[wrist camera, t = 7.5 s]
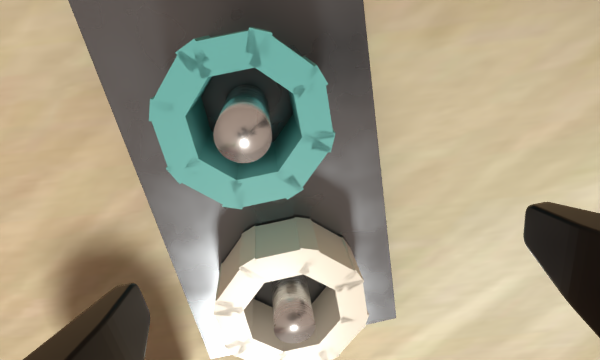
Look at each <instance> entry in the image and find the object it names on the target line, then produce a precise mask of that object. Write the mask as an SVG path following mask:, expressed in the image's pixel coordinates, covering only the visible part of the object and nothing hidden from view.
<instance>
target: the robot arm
mask: <svg viewBox="0 0 600 360" xmlns="http://www.w3.org/2000/svg"><path fill="white" fill-rule="evenodd" d="M524 241H525V244H526V246H527V247H528V249H529V250H530V252H531V253H532V254H533V256H534V257H535V258H536V260H537V261H538V263H539V264H540V265H541V267H542V268H543V269H544V271H545V272H546V273H547V275H548V276H549V278H550V279H551V280H552V282H553V283H554V284H555V286H556V287H557V288H558V290H559V291H560V293H561V294H562V295H563V296H564V298H565V299H566V300H567V301H568V303H569V304H570V305H571V306H572V307H573V309H574V310H575V311H576V312H577V313H578V314H579V315H580V316H581V318H582V319H583V320H584V321H585V322H586V323H587V324H588V325H589V327H590V328H591V329H592V330H593V331H594V332H595V333H596V334H597V336H598V337H599V338H600V213H596V212H591V211H587V210H582V209H578V208H573V207H569V206H564V205H560V204H555V203H551V202H542V203H538V204H533V205H530V206H528V207H527V209H526V214H525V224H524ZM149 325H150V313H149V309H148V307H147V305H146V302H145V300H144V298H143V295H142V293H141V291H140V289H139V287H138V286H137V284H134V283H130V284H125V285H120V286H117V287H115V288H113V289H112V290H111V291H110V292H108V293H107V294H106V295H104V296H103V297H102V298H101V299H99V300H98V301H97V302H96V303H94V304H93V305H92V306H90V307H89V308H88V309H87V310H85V311H84V312H83V313H82V314H80V315H79V316H78V317H76V318H75V319H74V320H73V321H71V322H70V323H69V324H68V325H66V326H65V327H64V328H63V329H61V330H60V331H59V332H57V333H56V334H55V335H54V336H52V337H51V338H50V339H49V340H47V341H46V342H45V343H43V344H42V345H41V346H40V347H38V348H37V349H36V350H35V351H33V352H32V353H31V354H29V355H28V356H27V357H26V358H24V359H23V360H144V357H145V351H146V344H147V338H148V331H149Z"/></svg>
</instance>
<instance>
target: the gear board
mask: <svg viewBox="0 0 600 360" xmlns="http://www.w3.org/2000/svg"><path fill="white" fill-rule="evenodd" d="M68 1H69V3H70V6H71V8H72V11H73V13H74V16H75V18H76V21H77V23H78V26H79V28H80V31H81V33H82V36H83V38H84V41H85V43H86V46H87V49H88V51H89V54H90V56H91V59H92V61H93V64H94V66H95V69H96V71H97V74H98V76H99V79H100V81H101V84H102V86H103V89H104V91H105V94H106V96H107V99H108V102H109V104H110V107H111V109H112V112H113V114H114V117H115V119H116V122H117V124H118V127H119V129H120V132H121V134H122V137H123V139H124V142H125V144H126V147H127V150H128V152H129V155H130V157H131V160H132V162H133V165H134V167H135V170H136V172H137V175H138V177H139V180H140V182H141V185H142V187H143V190H144V192H145V195H146V197H147V200H148V203H149V205H150V208H151V210H152V213H153V215H154V218H155V220H156V223H157V225H158V228H159V230H160V233H161V235H162V238H163V240H164V243H165V245H166V248H167V250H168V253H169V256H170V258H171V261H172V263H173V266H174V268H175V271H176V273H177V276H178V278H179V281H180V283H181V286H182V288H183V291H184V293H185V296H186V298H187V301H188V304H189V306H190V309H191V311H192V314H193V316H194V319H195V321H196V324H197V326H198V329H199V331H200V334H201V336H202V339H203V341H204V344H205V346H206V349H207V351H208V354H209V357H210V359H214V358H218V357H223V356H227V355H232V353H231V352H230V351H229V350H227V349H226V348H225V342H224V339H223V337H222V334H221V331H220V328H219V326H218V323H217V320H216V317H215V315H213V311H214V305H215V299H216V292H217V286H218V279H219V273H220V267H221V263H223V262H224V261H225V259H226V258H227V256H228V255H229V253H230V252H231V251H232V249H233V248H234V246H235V245H236V244H237V242H238V241H239V239H240V238H241V234H242V233H244V232H245V231H247V230H249V229H250V228H252V227H253V226H260V225H265V224H270V223H274V222H279V221H284V220H288V219H293V218H295V217H299V218H307V219H311V221H312V222H314V223H316V224H318V225H320V226H321V227H323V228H325V229H327V230H329V231H330V232H332V233H334V234H336V235H337V236H339V237H343V238H344V240H345V241H346V242H347V244H348V245H349V247H350V248H351V250H352V253H353V255H354V258H355V260H356V263H357V265H358V268H359V270H360V272H361V275H362V277H363V280H364V282H363V287H364V294H365V301H366V308H367V311H368V313H369V316H368V319H367V322H366V325H367V324H371V323H376V322H380V321H385V320H389V319H394V318H396V311H395V302H394V292H393V283H392V273H391V263H390V254H389V244H388V235H387V225H386V216H385V206H384V196H383V187H382V177H381V168H380V158H379V148H378V139H377V129H376V120H375V110H374V100H373V91H372V81H371V72H370V62H369V52H368V43H367V33H366V24H365V14H364V4H363V0H68ZM249 27H255V28H259V29H264V30H268V31H270V32H272V36H274V37H275V38H276V39H278V40H279V41H280V42H282V43H283V44H285V45H286V46H287V47H289V48H290V49H292V50H293V51H294V52H296V53H297V54H299V55H300V56H301V57H303V56H305V57H306V58H308V59H309V60H311V61H312V62H313V63H315V64H316V65H317V66H318V68H319V69H320V71H321V73H322V74H323V76H324V78H325V79H326V81H327V83H328V85H326V89H327V96H328V102H329V109H330V115H331V122H332V128H333V130H334V131H335V137H334V141H333V145H332V149H331V152H328V153H327V154H326V156H325V157H324V159H323V160H322V161H321V163H320V164H319V165H318V167H317V168H316V170H315V171H314V172H313V174H312V175H311V176H310V178H309V179H308V181H307V182H306V183H305V185H304V186H303V189H304V190H302V191H300V192H299V193H297V194H296V195H294V196H293V197H291V198H289V199H288V200H287V199H286V198H284V199H279V200H275V201H270V202H265V203H260V204H256V205H251V206H246V207H242V209H235V208H228V207H222V205H223V204H221V203H219V202H217V201H215V200H213V199H211V198H209V197H207V196H206V195H204V194H202V193H200V192H198V191H196V190H194V189H192V188H191V187H189V186H187V185H185V184H183V183H181V184H179V183H178V182H177V181H176V179H175V178H174V177H173V176H172V175H171V174H170V173H169V172H168V170H167V169H166V167H167V163H166V160H165V158H164V155H163V152H162V149H161V146H160V144H159V141H158V138H157V135H156V132H155V129H154V127H153V124H152V121H149V108H150V99H151V98H152V97H154V96H155V95H156V93H157V91H158V89H159V88H160V86H161V84H162V82H163V80H164V78H165V77H166V75H167V73H168V71H169V69H170V67H171V66H172V64H173V62H174V60H175V58H176V56H177V54H176V53H175V52H177V51H178V50H179V49H181V48H182V47H183V46H185V45H186V44H188V43H189V42H190V41H192V40H193V39H195V38H199V37H203V36H208V35H209V36H210V37H214V36H219V35H224V34H229V33H234V32H239V31H244V30H249ZM201 98H202V102H203V105H204V108H205V112H206V115H207V119H208V122H209V126H210V129H211V131H212V132H214V134H213V135H214V142H215V145H216V147H217V149H218V150H219V152H220V153H221V154H222V155H223V156H224V157H226V158H227V159H229V160H231V161H233V162H237V163H250V162H254V161H256V160H258V159H260V158H261V157H262V156H263V155H264V154H265V153H266V152H267V151H268V149H269V147H270V145H271V142H274V141H275V140H276V138H277V137H278V135H279V134H280V133H281V131H282V130H283V128H284V127H285V125H286V124H287V122H288V121H289V119H290V118H291V116H292V115H293V111H292V106H291V101H290V95H289V90H287V89H286V88H284V87H283V86H281V85H280V84H278V83H277V82H275V81H274V80H273V79H271V78H270V77H268V76H267V75H265V74H264V73H262V72H261V71H259V70H258V69H256V68H250V69H245V70H240V71H235V72H231V73H226V74H221V75H216V76H213V77H212V78H211V80H210V82H209V84H208V85H207V87H206V89H205V90H204V92H203V94H202V96H201ZM325 287H326V285H324V284H322V283H320V282H318V281H316V280H314V279H312V278H310V277H308V276H306V275H304V274H303V275H298V276H293V277H289V278H284V279H280V280H275V281H270V282H266V283H264V284H263V285H262V287H261V288H260V289H259V291H258V292H257V293H256V295H255V296H254V297H253V299H255V300H257V301H260V302H262V303H264V304H266V305H268V306H271V307H273V323H274V333H275V335H276V337H277V338H278V339H279V340H281V341H283V342H286V343H300V342H303V341H305V340H307V339H308V338H309V337H311V335H312V334H313V333H314V330H315V320H314V315H313V309H312V303H313V302H314V301H315V300H316V298H317V297H318V296H319V295H320V294H321V292H322V291H323V290H324V289H325Z"/></svg>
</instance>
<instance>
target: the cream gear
mask: <svg viewBox="0 0 600 360" xmlns="http://www.w3.org/2000/svg"><path fill="white" fill-rule="evenodd" d="M303 274H304V275H306V276H308V277H310V278H312V279H314V280H316V281H318V282H320V283H322V284H324V285H326V287H325V289H324V290H323V291H322V292H321V294H320V295H319V296H318V297H317V298H316V300H315V301H314V302H313V303H312V309H313V315H314V320H315V330H314V333H313V334H312V335H311V337H309V338H308V339H307V340H305V341H303V342H300V343H286V342H283V341H281V340H279V339H278V338H277V337H276V335H275V333H274V323H273V307H271V306H268V305H266V304H264V303H262V302H260V301H257V300H255V299H253V297H254V296H255V295H256V293H257V292H258V291H259V289H260V288H261V287H262V285H263V284H264V283H266V282H270V281H275V280H280V279H284V278H289V277H293V276H298V275H303ZM363 282H364V280H363V277H362V275H361V272H360V270H359V268H358V265H357V263H356V260H355V258H354V255H353V253H352V250H351V248H350V247H349V245H348V244H347V242H346V241H345V240H344V238H343V237H339V236H337V235H336V234H334V233H332V232H330V231H329V230H327V229H325V228H323V227H321V226H320V225H318V224H316V223H314V222H312V221H311V219H307V218H299V217H295V218H293V219H288V220H284V221H279V222H274V223H270V224H265V225H260V226H253V227H252V228H250V229H249V230H247V231H245V232H244V233H242V234H241V238H240V239H239V241H238V242H237V244H236V245H235V246H234V248H233V249H232V251H231V252H230V253H229V255H228V256H227V258H226V259H225V261H224V262H223V263H221V267H220V273H219V279H218V286H217V292H216V299H215V305H214V311H213V315H215V317H216V320H217V323H218V326H219V328H220V331H221V334H222V337H223V339H224V342H225V348H226V349H227V350H229V351H230V352H231V353H232V354H233V355H234V356H235V357H236V356H238V357H240V358H243V359H245V360H332V359H334V358H336V357H338V356H340V353H341V352H342V351H343V350H344V348H345V347H346V346H347V345H348V344H349V343H350V342H351V341H352V340H353V338H354V337H355V336H356V335H357V334H358V333H359V332H360V331H361V330H362V328H365V325H366V322H367V319H368V316H369V313H368V311H367V308H366V301H365V294H364V287H363Z"/></svg>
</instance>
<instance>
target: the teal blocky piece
mask: <svg viewBox="0 0 600 360" xmlns="http://www.w3.org/2000/svg"><path fill="white" fill-rule="evenodd" d="M175 53H176V54H177V56H176V58H175V60H174V62H173V64H172V66H171V67H170V69H169V71H168V73H167V75H166V77H165V78H164V80H163V82H162V84H161V86H160V88H159V89H158V91H157V93H156V95H155V96H154V97H152V98H151V99H150V108H149V121H152V124H153V127H154V129H155V132H156V135H157V138H158V141H159V144H160V146H161V149H162V152H163V155H164V158H165V160H166V163H167V167H166V169H167V170H168V172H169V173H170V174H171V175H172V176H173V177H174V178H175V179H176V181H177V182H178V183H179V184H181V183H183V184H185V185H187V186H189V187H191V188H192V189H194V190H196V191H198V192H200V193H202V194H204V195H206V196H207V197H209V198H211V199H213V200H215V201H217V202H219V203H221V204H223V205H222V207H228V208H235V209H242V207H246V206H251V205H256V204H260V203H265V202H270V201H275V200H279V199H284V198H286V199H287V200H288V199H289V198H291V197H293V196H294V195H296V194H297V193H299V192H300V191H302V190H304V189H303V186H304V185H305V183H306V182H307V181H308V179H309V178H310V176H311V175H312V174H313V172H314V171H315V170H316V168H317V167H318V165H319V164H320V163H321V161H322V160H323V159H324V157H325V156H326V154H327V153H328V152H331V149H332V145H333V141H334V137H335V131H334V130H333V128H332V122H331V115H330V109H329V102H328V96H327V89H326V85H328V83H327V81H326V79H325V78H324V76H323V74H322V73H321V71H320V69H319V68H318V66H317V65H316V64H315V63H313V62H312V61H311V60H309V59H308V58H306V57H305V56H303V57H301V56H300V55H299V54H297V53H296V52H294V51H293V50H292V49H290V48H289V47H287V46H286V45H285V44H283V43H282V42H280V41H279V40H278V39H276V38H275V37H274V36H272V32H270V31H268V30H264V29H259V28H255V27H249V30H244V31H239V32H234V33H229V34H224V35H219V36H214V37H210V36H209V35H208V36H203V37H199V38H195V39H193V40H192V41H190V42H189V43H188V44H186V45H185V46H183V47H182V48H181V49H179V50H178V51H177V52H175ZM250 68H256V69H258V70H259V71H261V72H262V73H264V74H265V75H267V76H268V77H270V78H271V79H273V80H274V81H275V82H277V83H278V84H280V85H281V86H283V87H284V88H286V89H287V90H289V95H290V101H291V106H292V111H293V115H292V116H291V118H290V119H289V121H288V122H287V124H286V125H285V127H284V128H283V130H282V131H281V133H280V134H279V135H278V137H277V138H276V140H275V141H274V142H271V145H270V147H269V149H268V151H267V152H266V153H265V154H264V155H263V156H262V157H261V158H260V159H258V160H256V161H254V162H250V163H237V162H233V161H231V160H229V159H227V158H226V157H224V156H223V155H222V154H221V153H220V152H219V150H218V149H217V147H216V145H215V142H214V135H213V134H214V132H212V131H211V129H210V126H209V122H208V119H207V115H206V112H205V108H204V105H203V102H202V98H201V96H202V94H203V92H204V90H205V89H206V87H207V85H208V84H209V82H210V80H211V78H212V77H213V76H216V75H221V74H226V73H231V72H235V71H240V70H245V69H250Z"/></svg>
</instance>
